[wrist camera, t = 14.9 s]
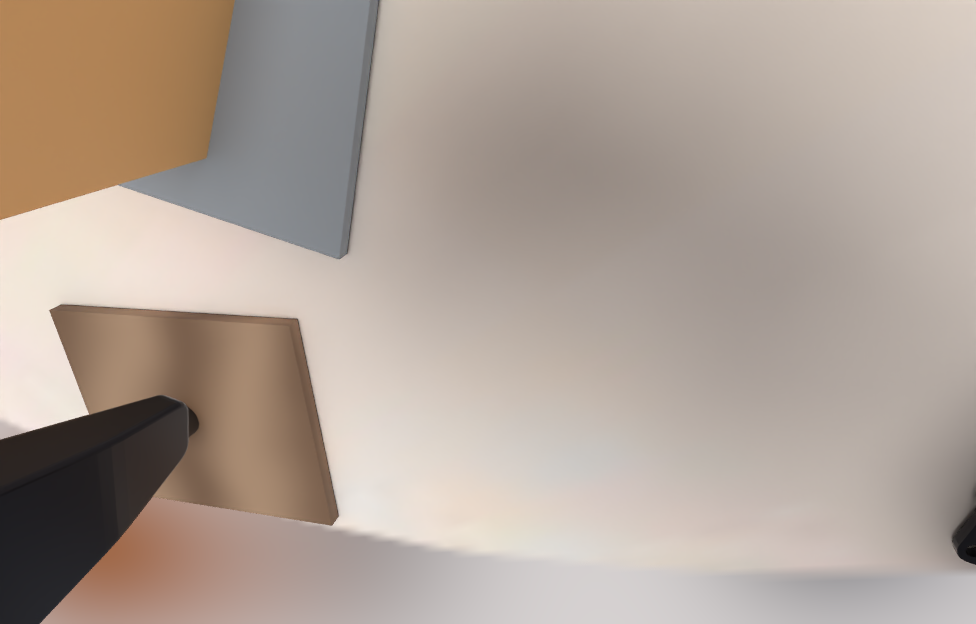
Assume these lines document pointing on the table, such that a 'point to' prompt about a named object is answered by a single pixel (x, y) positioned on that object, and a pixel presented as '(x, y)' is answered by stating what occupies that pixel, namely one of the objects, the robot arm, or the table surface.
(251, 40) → the rubber mat
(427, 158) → the table surface
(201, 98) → the c link
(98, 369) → the stand
